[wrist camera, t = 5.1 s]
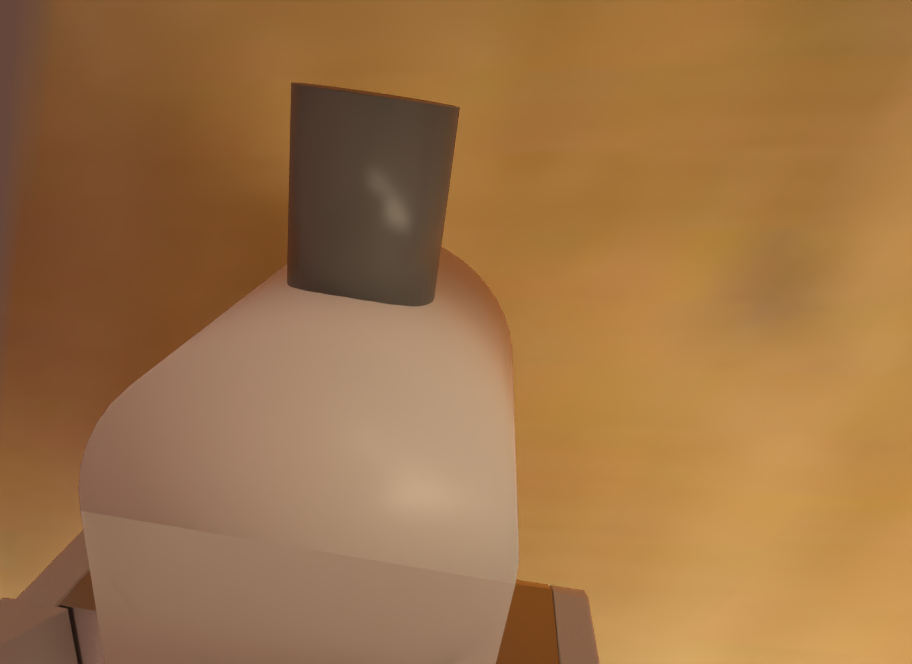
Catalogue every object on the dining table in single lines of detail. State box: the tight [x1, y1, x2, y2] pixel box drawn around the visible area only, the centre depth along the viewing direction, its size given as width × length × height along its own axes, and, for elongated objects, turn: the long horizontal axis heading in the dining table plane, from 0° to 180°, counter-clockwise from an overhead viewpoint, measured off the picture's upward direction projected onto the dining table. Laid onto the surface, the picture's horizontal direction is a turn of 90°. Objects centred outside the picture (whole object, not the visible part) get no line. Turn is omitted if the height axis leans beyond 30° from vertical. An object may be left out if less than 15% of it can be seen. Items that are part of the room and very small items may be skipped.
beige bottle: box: [79, 83, 519, 664], centre depth 8 cm, size 14×4×4 cm, turn 172°
